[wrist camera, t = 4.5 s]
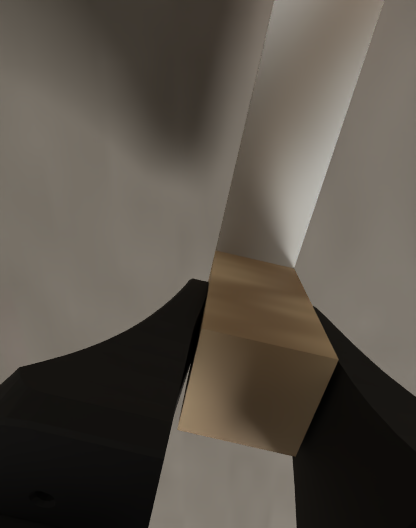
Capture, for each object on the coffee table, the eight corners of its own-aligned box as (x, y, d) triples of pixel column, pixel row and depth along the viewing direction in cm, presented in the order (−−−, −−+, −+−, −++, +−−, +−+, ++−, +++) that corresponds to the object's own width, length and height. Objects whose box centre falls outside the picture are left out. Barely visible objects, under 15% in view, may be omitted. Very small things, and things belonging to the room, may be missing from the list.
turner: (400, -65, 9) (695, -443, 3) (270, 327, 13) (295, 456, 8) (294, -89, 9) (402, -514, 3) (201, 311, 13) (177, 429, 8)
